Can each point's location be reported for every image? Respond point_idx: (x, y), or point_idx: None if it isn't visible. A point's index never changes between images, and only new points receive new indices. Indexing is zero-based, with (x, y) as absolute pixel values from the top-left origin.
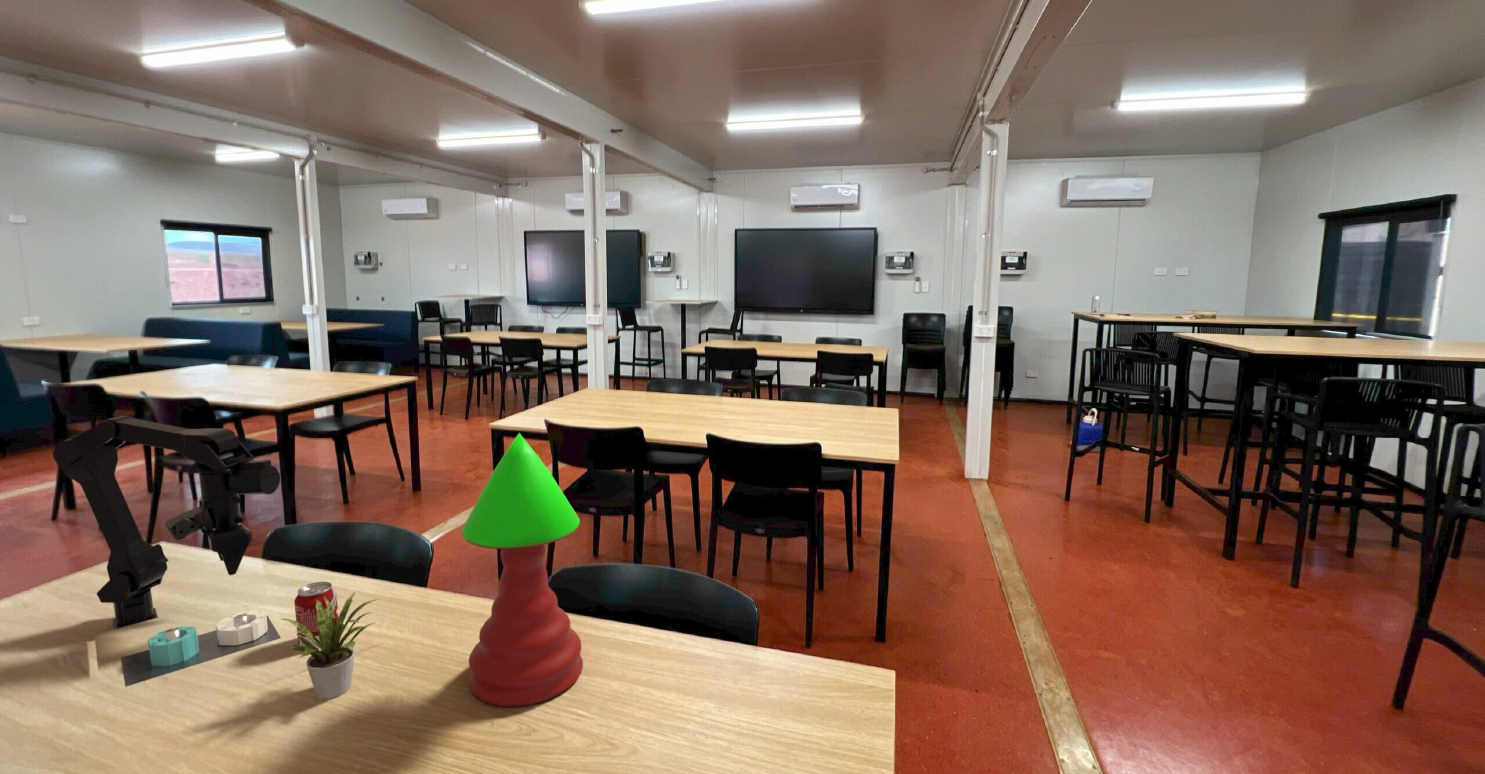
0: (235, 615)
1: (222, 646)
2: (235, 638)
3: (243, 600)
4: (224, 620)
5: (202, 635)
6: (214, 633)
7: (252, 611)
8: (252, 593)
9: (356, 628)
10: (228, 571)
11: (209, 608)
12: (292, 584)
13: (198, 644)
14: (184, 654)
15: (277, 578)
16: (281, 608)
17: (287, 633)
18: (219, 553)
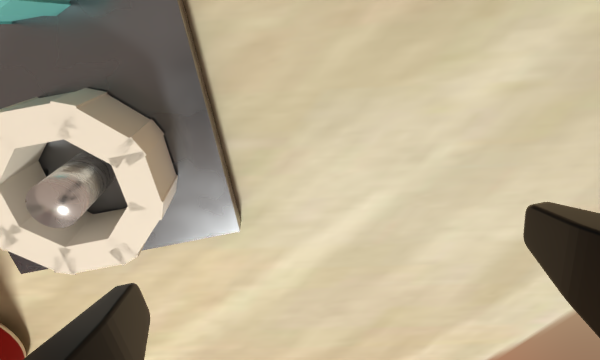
0: (134, 172)
1: None
2: None
3: (475, 145)
4: (96, 133)
5: (171, 28)
6: (168, 72)
7: (149, 228)
8: (516, 169)
9: None
10: (86, 314)
11: (490, 35)
12: (495, 272)
13: (82, 18)
14: None
15: None
16: (319, 251)
17: (107, 271)
18: (587, 240)
